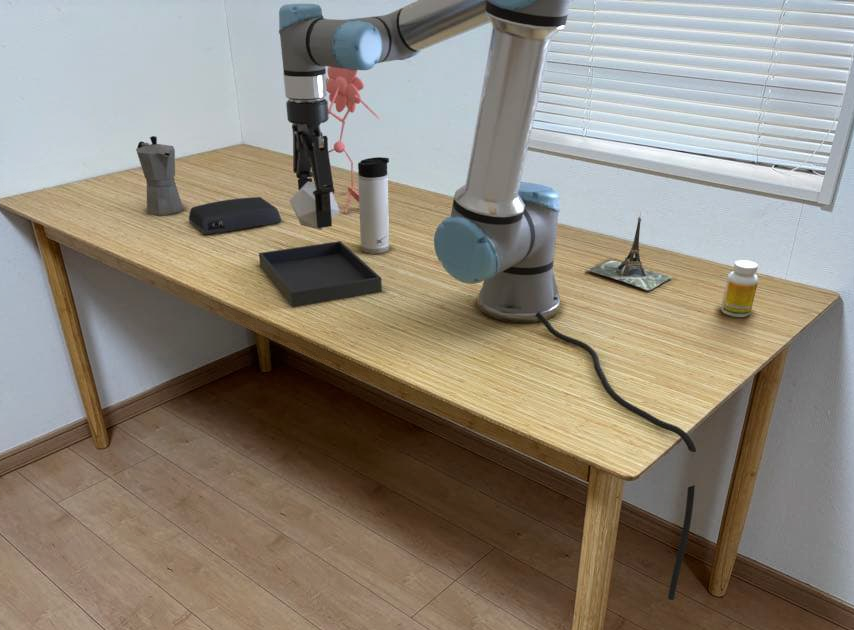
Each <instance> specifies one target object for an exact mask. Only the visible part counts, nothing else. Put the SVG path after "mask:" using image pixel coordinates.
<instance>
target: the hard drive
mask: <svg viewBox="0 0 854 630" xmlns="http://www.w3.org/2000/svg"><path fill="white" fill-rule="evenodd" d="M281 217H282V216H281V215H280V212H279V210H278V208H277V207H276V206H274V205H273V204H271V203H270V202H268V201H267V200H265V199H264V198H262V197H261V196H252V197H250V196H249V197H240V198H231V199H224V200H218V201H214V202H208V203H204V204H199V205H196V206H192V207H191V208H190V210H189V215H188V222H189V223H191V225H193V226H194V227H195V228H196V229H198V230H199V231H200V232H201V233H202V234H203V235H209V234H210V235H211V234H216V233H217V234H218V233H224V232H225V233H226V232H230V231H231V232H232V231H236V230H237V231H238V230H243V229H249V228H255V227H260V226H264V225H271V224H274V223H280V222H282V221H283V220H282V218H281Z"/></svg>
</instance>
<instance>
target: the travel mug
mask: <svg viewBox="0 0 854 630" xmlns="http://www.w3.org/2000/svg"><path fill="white" fill-rule="evenodd" d="M389 162H390V158H389V157H379V156H377V157H369V158H365V159H362V160H360V161H359V162H358V163H357V170H358V171H357V179H358V181H357V182H358V183H357V184H358V193H359V202H358V204H359V205H358V207H359V208H358V209H359V217H360V218H359V230H360V250H361V251H362V252H363V253H366V254H370V255H378V254H379V255H380V254H383V253H387V252H388V251H389V250H390V226H389V177H388V175H389V173H388V164H389Z"/></svg>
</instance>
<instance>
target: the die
mask: <svg viewBox="0 0 854 630" xmlns="http://www.w3.org/2000/svg"><path fill="white" fill-rule="evenodd" d="M324 186H325V185H324ZM314 191H316V187H315V182H314V181H312V182H309V181H308V182H307V183H306V184H305V185H304V186H303V187H302V188H301V189H300V190H299V189H298V190H297V191H296V193H295V194H294V195H293V196H292V197H291V198H290V199H289V203H290V205H291V207H292V210H293V212H294V214H295V216H296V218H297V220H298V221H299V224H300V226H303V227H305V228H306V227H307V228H311V229H316V230H319V231H322V230H323V229H324V228H325V227H323V228H318V227H317V218H316V204H315V195H313V192H314ZM330 204H331V219H332V220H333V219H334V218H335V217H336V216H337V215H338V214H339V213H340V212H341V209H340V207H339V205H338V203H337V200H336V198H335V196H334V195H333V193H332V192H331V193H330Z"/></svg>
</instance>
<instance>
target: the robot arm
mask: <svg viewBox="0 0 854 630" xmlns="http://www.w3.org/2000/svg"><path fill="white" fill-rule="evenodd" d="M572 1H573V0H416V1H414V2H411V3H409V4H408V5H405V6H403V7H401V8H398V9H395V10H394V11H392V12H389V13H388V14H384V15H377V16H368V17H367V16H365V17H358V18H349V19H334V18H332V19H331V18H324V15H323V9H322V7H321V6H320V5H319V4H315V3H288V4H287V3H286V4H284V5H282V6H280V8H279V10H278V28H279V29H278V34H279V37H280V38H279V39H280V40H279V41H280V49H281V60H282V69H283V70H282V71H283V87H284V96H285V98H286V99H288V100H286V103H285V104H286V105H285V106H286V116H287V121H288V122H289V123H290V124H291V129H292V155H293V156H292V171H293V173H294V174H295V176H296V178H297V189H298V191H299V190H300V189H301V188H302V187H303V186H304V185H305V184H306V183H307V182H308V181H309V182H314V183H315V187H316V191H314V192H313V195H315V204H316V218H317V227H318V228H323V227H324V228H328V227H333V222H332V221H333V219H331V204H330V193H331V192H334V189H335V187H334V180H333V175H332V174H333V173H332V166H331V160H330V152H328V151H329V141H328V140H329V138H328V136H327V135H323V132H322V130H321V124H322V123H326V122H328V121H329V117H330V116H329V114H328V109H329V105H328V104H329V102H328V100H327V99H326V97H327V96H328V91H327V88H326V83H328V82H329V77H327V74H326V73H327V70H326V67H327V68H328V67H335V68H342V69H349V70H350V71H356V70H358V71H369V70H371V69H373V68H374V67H375V66H376V65H377V64H381V63H386V62H392V61H404V60H408V59H411V58H413V57H415V56H417V55H419V53H420V52H422V50H424V49H427V48H430V47H433V46H434V45H435V46H436V45H438V44H439V43H442V42H445V41H447V40H450V39H453V38H455V37H457V36H460V35H463V34H464V33H467V32H470V31H472V30H474V29H475V30H476V29H478V28H480V27H482V26H484V25H487V24H490V23H491V26H492V30H491V36H490V40H489V41H490V42H489V46H488V52H487V58H486V65H485V70H484V77H483V83H482V87H481V93H480V100H479V106H478V110H477V111H478V112H477V116H476V123H475V129H474V134H473V139H472V146H471V150H470V158H469V163H468V167H467V168H468V169H467V174H466V180H465V184H464V185H462V186H461V187H459V188H457V189H456V191H455V192H454V195H453V200H452V205H451V212H450V216H447V217H445V219H443V220H442V221H441V222H440V223H439V224H438V225H437V228H436V229H435V232H434V237H433V246H434V251H435V255H436V257H437V259H438V261H439V262H440V263H441V266H442V268H443V269H444V271H445V272H447V274H448V275H449V276H451V277H452V278H454V279H455V280H457V281H459V282H461V283H463V284H468V285H469V284H470V285H471V284H473V285H475V284H479V283H482V286H481V289H480V290H479V293H478V303H477V304H478V308H479V310H480V311H481V312H482V313H483V314H485V315H486V316H489V317H491V318H493V319H495V320H499V321H503V322H509V323H518V324H519V323H522V324H524V323H525V324H526V323H537V322H541V323H542V324H543V325H544V327H545V328H546V329H547V331H548V332H549V333H550V334H551V335H553V336H554V337H555V338H557V339H559V340H561V341H563V342H566V343H568V344H571V345H574V346H576V347H579V348H581V349H583V350H584V351H586V352H587V353H588V354H589V356H590V357H591V359H592V362H593V367H594V370H595V373H596V374H597V377H598V378H599V381H600V383H601V385H602V387H603V388H604V390H605V392H606V393H607V394H608V395H609V396H610V398H611V399H613V400H614V401H615V402H616V403H617V404H619V405H620V406H622V407H623V408H624V409H626V410H627V411H629V412H632V413H633V414H634V415H637V416H639V417H641V418H642V419H644V420H646V421H648V422H649V423H651V424H653V425H655V426H656V427H658V428H661V429H663V430H666V431H669V432H672V433H673V434H675V435H677V436H679V437H680V438H681V439H682V440H683V441H684V443H685V445H686V447H687V449H688V451H690V452H692V453H696V452H697V448H696V445H695V443H694V441H693V440H692V438H691V437H690V435H689V434H688V433H687V432H685V430H683V429H682V428H680V427H679V426H677V425H674V424H672V423H669V422H666V421H663V420H661V419H659V418H657V417H656V416H654V415H652V414H650V413H648V412H646V411H644V410H643V409H641V408H639V407H637V406H635V405H633V404H632V403H630V402H629V401H626V400H625V399H624V398H622V397H621V396H620V395H619V394H618V393H617V392H615V390H614V389H613V387H612V386H611V384H610V383H609V380H608V379H607V377H606V375H605V373H604V371H603V369H602V367H601V363H600V359H599V356H598V354H597V352H596V351H595V350H594V349H593V348H592V347H591V346H590V345H589V344H587V343H586V342H584V341H581V340H579V339H575V338H573V337H570V336H567V335H565V334H563V333H561V332H559V331H558V330H556V329H555V328H554V327H553V325H552V324H551V323H550V322H549V319H551V318H552V317H555V316H556V315H557V314H558V312H559V311H560V304H561V303H560V301H561V297H560V295H559V294H560V293H559V289H558V286H557V281H556V277H555V273H554V260H555V250H556V243H557V242H556V241H557V232H558V222H559V214H560V195H559V193H558V191H556V189H554V188H553V187H551V186H547V185H544V184H541V183H534V182H527V181H522V177H523V173H524V167H525V164H526V158H527V154H528V148H529V145H530V141H531V140H530V139H531V136H532V131H533V127H534V121H535V117H536V113H537V108H538V103H539V99H540V93H541V89H542V83H543V81H544V77H545V76H544V75H545V71H546V67H547V62H548V58H549V57H548V56H549V53H550V49H551V43H552V39H553V37H554V35H556V34H557V33H559V32H561V30H563V29H564V28H565V27H566V24H567V21H568V16H569V11H570V6H571V2H572ZM324 185H325V186H324ZM334 193H335V192H334ZM324 228H323V229H324ZM695 487H696V485H695V484H693V485H691V486H688V487H687V491H686V492H687V494H686V503H685V504H686V506H685V513H684V514H685V515H684V519H683V525H682V530H681V535H680V541H679V545H678V549H677V554H676V557H675V562H674V566H673V571H672V575H671V579H670V584H669V590H668V595H667V599H668V600H670V601H674V600H675V598H676V597H675V595H676V592H677V591H676V590H677V587H678V582H679V577H680V572H681V569H682V565H683V560H684V556H685V552H686V548H687V544H688V538H689V533H690V528H691V522H692V516H693V509H694V499H695Z"/></svg>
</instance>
